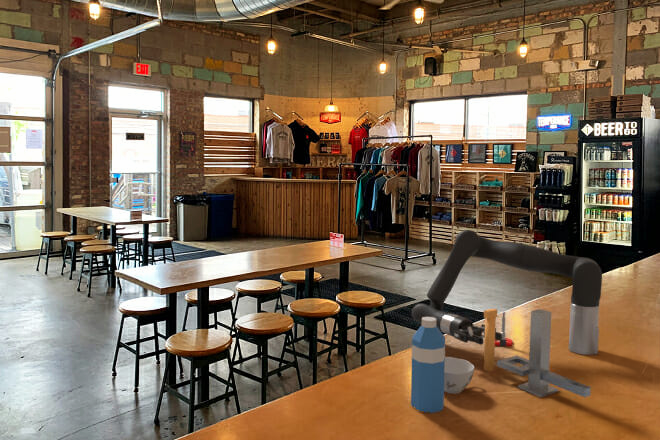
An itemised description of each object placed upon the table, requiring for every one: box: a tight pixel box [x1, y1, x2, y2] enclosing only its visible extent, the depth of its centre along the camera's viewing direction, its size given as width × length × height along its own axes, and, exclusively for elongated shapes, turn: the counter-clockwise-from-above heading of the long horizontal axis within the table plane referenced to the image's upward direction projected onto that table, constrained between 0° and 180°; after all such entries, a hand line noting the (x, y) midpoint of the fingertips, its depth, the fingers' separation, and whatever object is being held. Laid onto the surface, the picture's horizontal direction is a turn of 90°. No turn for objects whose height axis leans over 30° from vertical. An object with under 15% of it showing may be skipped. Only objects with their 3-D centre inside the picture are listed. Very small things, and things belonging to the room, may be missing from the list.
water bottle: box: [410, 317, 446, 414], centre depth 153 cm, size 9×9×25 cm
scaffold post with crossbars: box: [496, 308, 592, 398], centre depth 162 cm, size 28×9×24 cm, turn 31°
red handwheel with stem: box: [495, 311, 513, 348], centre depth 207 cm, size 8×13×9 cm
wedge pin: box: [483, 308, 498, 372], centre depth 180 cm, size 4×3×20 cm
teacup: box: [444, 356, 475, 395], centre depth 166 cm, size 15×12×8 cm
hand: (492, 339), depth 179 cm, fingers open, 8 cm apart
